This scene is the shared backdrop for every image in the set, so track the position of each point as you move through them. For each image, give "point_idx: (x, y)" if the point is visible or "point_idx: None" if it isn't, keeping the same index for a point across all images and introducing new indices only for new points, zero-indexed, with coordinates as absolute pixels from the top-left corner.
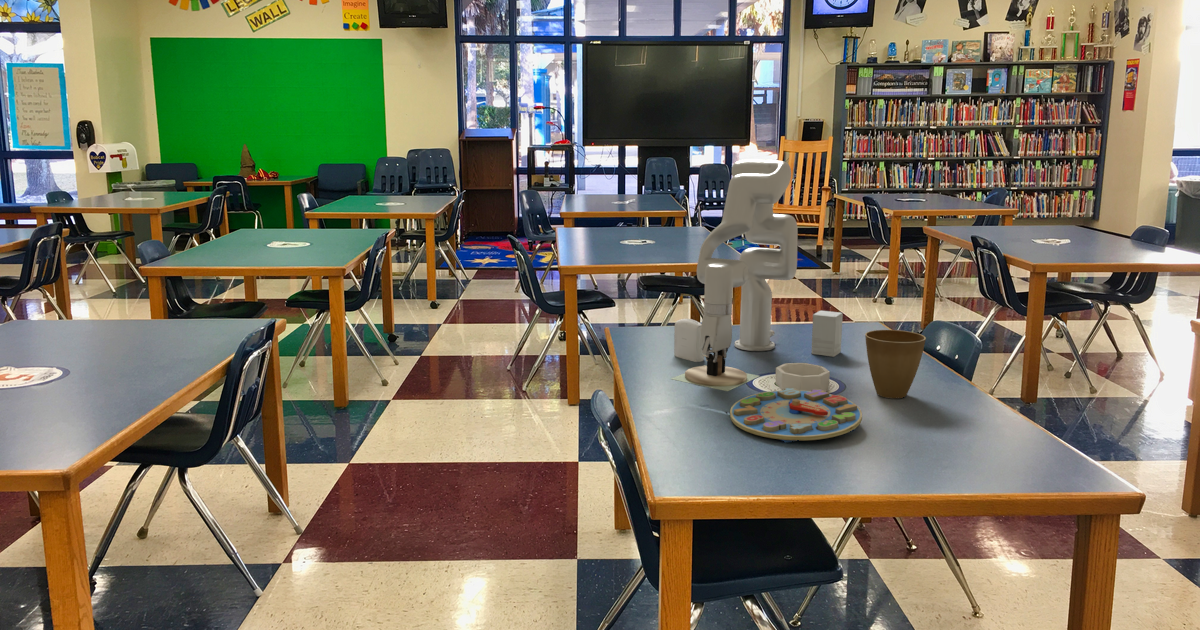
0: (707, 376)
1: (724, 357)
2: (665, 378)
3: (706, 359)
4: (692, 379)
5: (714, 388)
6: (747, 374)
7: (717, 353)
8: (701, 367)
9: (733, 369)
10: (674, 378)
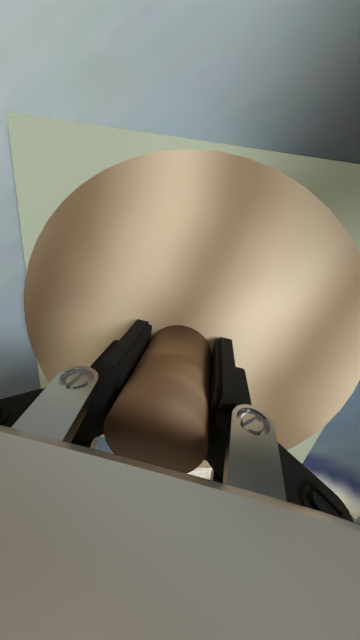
0: (112, 330)
1: (212, 470)
2: (39, 42)
3: (58, 377)
4: (29, 274)
5: (40, 378)
6: (294, 447)
7: (228, 447)
8: (287, 226)
9: (307, 409)
10: (28, 135)
